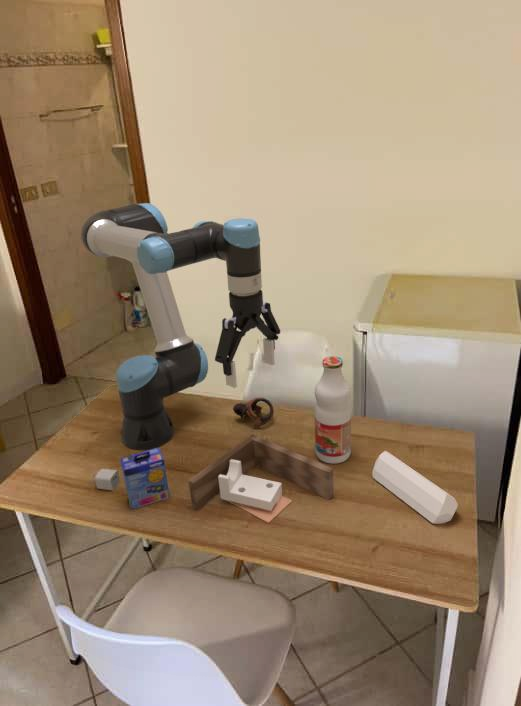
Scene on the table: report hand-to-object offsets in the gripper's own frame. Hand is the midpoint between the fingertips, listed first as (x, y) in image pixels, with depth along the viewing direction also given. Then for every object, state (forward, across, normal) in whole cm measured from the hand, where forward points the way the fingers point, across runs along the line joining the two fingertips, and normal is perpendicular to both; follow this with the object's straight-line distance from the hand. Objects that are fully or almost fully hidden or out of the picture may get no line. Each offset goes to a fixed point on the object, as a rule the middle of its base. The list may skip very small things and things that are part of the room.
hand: (251, 374), depth 132 cm
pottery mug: (+28, +16, +16) cm, 36 cm away
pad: (+28, -10, -8) cm, 30 cm away
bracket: (+28, -10, -7) cm, 30 cm away
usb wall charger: (+28, -29, +27) cm, 49 cm away
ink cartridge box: (+28, -25, +14) cm, 40 cm away
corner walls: (+28, -9, -10) cm, 31 cm away
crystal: (+28, +14, -37) cm, 48 cm away
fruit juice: (+28, +16, -12) cm, 35 cm away
